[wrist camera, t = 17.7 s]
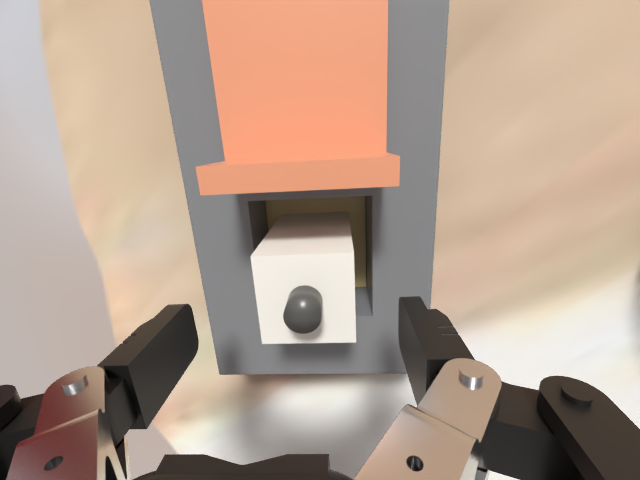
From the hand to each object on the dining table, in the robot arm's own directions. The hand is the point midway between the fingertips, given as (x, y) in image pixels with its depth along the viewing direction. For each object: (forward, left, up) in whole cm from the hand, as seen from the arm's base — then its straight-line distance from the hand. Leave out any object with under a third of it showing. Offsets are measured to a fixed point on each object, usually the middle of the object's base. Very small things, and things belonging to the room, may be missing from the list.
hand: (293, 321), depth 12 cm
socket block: (+4, -1, -8) cm, 9 cm away
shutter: (+9, 0, -4) cm, 10 cm away
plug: (0, 0, -8) cm, 8 cm away
